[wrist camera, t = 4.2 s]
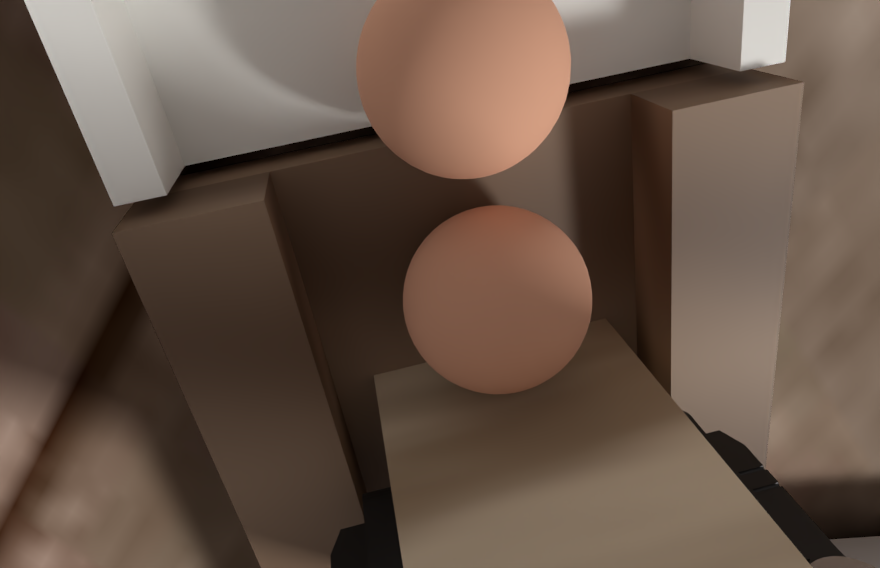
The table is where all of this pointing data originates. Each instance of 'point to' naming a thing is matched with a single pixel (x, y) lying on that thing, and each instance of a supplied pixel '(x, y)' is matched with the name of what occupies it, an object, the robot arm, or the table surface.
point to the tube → (860, 549)
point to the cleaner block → (565, 473)
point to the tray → (312, 68)
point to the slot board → (397, 239)
